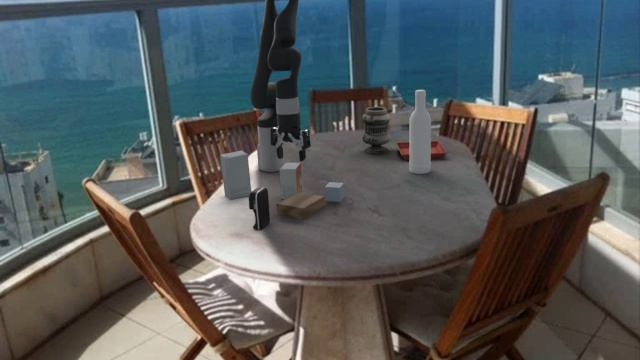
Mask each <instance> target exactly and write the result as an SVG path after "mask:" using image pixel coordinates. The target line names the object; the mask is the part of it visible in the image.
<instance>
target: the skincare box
mask: <svg viewBox="0 0 640 360" xmlns="http://www.w3.org/2000/svg"><path fill="white" fill-rule="evenodd" d="M219 157H220V158H219V159H220V168H221V175H222V182H223V183H222V184H223V190H224V195H225V196H226V197H227V198H228V199H229V200H233V199H239V198H243V197H249V194H250V193H251V192H252V185H251V184H252V183H251V175H250V174H251V173H250V163H249V155H248V153H247V152H245V151H243V150H237V151H232V152H228V153H222V154H219Z"/></svg>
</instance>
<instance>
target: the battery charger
mask: <svg viewBox="0 0 640 360" xmlns="http://www.w3.org/2000/svg"><path fill="white" fill-rule="evenodd" d="M248 209H249V210H251V211H252V212H253V213H254V219H255V221H254V224H253V226H252V228H253V230H258V231H260V230H263V229H264V228H265V227H267V225H268V224H269V223H271V218H270V200H269V190H268V188H267V187H256V188H254V189H253V190H251V193H250V194H249V196H248Z"/></svg>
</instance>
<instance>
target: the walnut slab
mask: <svg viewBox="0 0 640 360" xmlns="http://www.w3.org/2000/svg"><path fill="white" fill-rule="evenodd" d="M275 204H276V215H277V216H278V215H279V216H282V215H286V216H285V217H287V216H290V217H289V218H292V217H294V218H293V219H299V220H306V219H307V218H310V217H311V216H313V215H314V214H316V213H317V212H319V211H322V210H323V209H324V208H326V199H325V195H320V194H319V195H318V194H312V193H306V192H302V193H301V192H298V193H296V194H294V195H292V196H290V197H288V198H286V199H283V200H280V201H279V202H277V203H275Z"/></svg>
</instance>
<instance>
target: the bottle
mask: <svg viewBox="0 0 640 360" xmlns="http://www.w3.org/2000/svg"><path fill="white" fill-rule="evenodd" d="M426 92H427V91H426V90H425V89H417V90H415V91H414V93H415V94H414V96H415V97H414V99H415V100H414V101H415V103H414V105H415V106H414V107H415V108H414V111H412V112H411V114H410V116H409V120H408V122H409V125H408V126H409V129H408V130H409V133H408V134H409V135H408V136H409V141H408V142H409V161H408V162H409V163H408V167H409V168H408V169H409V172H410V173H411V174H416V175H424V174H428V173H429V174H430V172H431V170H432V169H431V168H432V163H431V161H432V159H431V141H432V118H431V115H430V113H429V111H427V109H426V101H427V100H426V97H427V93H426Z"/></svg>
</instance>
